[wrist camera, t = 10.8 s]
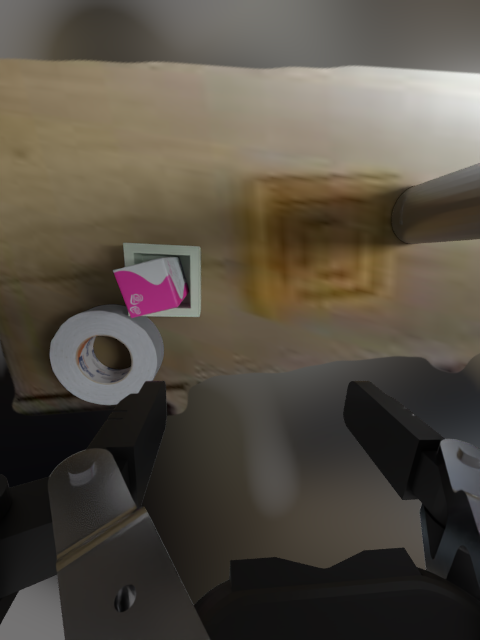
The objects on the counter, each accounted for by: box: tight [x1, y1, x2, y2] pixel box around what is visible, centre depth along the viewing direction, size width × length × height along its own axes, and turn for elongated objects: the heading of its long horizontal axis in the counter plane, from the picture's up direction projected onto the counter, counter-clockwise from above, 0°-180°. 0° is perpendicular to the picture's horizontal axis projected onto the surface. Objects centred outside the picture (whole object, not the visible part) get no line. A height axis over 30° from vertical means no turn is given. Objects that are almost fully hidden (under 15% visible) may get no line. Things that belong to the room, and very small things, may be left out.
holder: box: [123, 243, 201, 317], centre depth 36 cm, size 10×10×5 cm
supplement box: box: [113, 257, 189, 318], centre depth 31 cm, size 6×6×12 cm
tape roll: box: [50, 304, 164, 405], centre depth 38 cm, size 15×15×5 cm
